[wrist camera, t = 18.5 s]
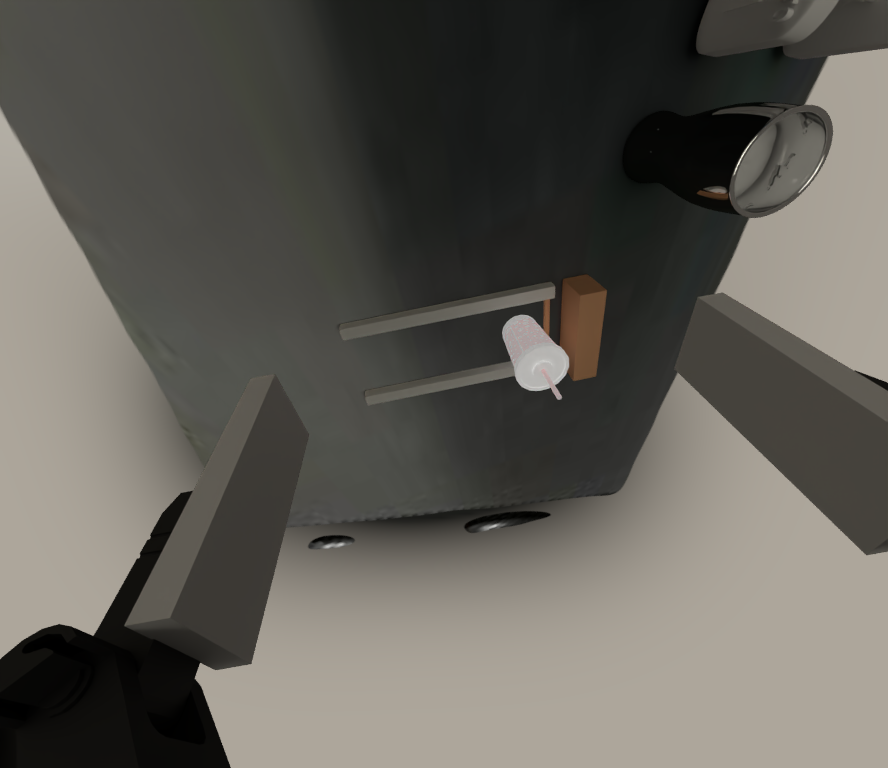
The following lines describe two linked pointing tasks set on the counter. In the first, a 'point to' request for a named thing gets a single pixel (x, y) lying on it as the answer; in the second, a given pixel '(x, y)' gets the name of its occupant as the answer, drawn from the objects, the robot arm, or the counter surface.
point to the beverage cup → (534, 355)
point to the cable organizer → (793, 27)
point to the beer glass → (732, 155)
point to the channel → (577, 311)
